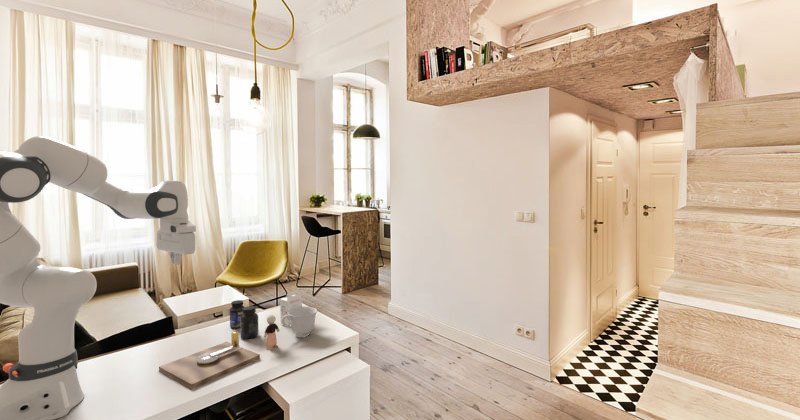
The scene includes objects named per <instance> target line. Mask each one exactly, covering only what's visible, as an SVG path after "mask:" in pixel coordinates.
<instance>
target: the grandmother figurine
mask: <svg viewBox="0 0 800 420" xmlns="http://www.w3.org/2000/svg"><path fill="white" fill-rule="evenodd" d="M266 322H267V324H268V325H267V326H266V328H265V331H264V335H263V338H264V339H266V342H265V343H266V344H265V345H266V351H267V350H268V351H269V350H270V351H271V350H274V349H275V348H278V345H277V344H278V342H277V341H278V340H277V334H276V332H278V333H279V332H280V329H279V326H278V324H276V323H275V322H276V316H275V315H274V314H270V315H267V316H266Z"/></svg>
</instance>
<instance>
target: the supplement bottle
mask: <svg viewBox="0 0 800 420" xmlns="http://www.w3.org/2000/svg"><path fill="white" fill-rule="evenodd" d="M256 308H257V307H256V306H253V305H250V306H248V305H247V306H244V308H243V315H241V317H240V328H239V329H240V331H239V333H240V334H239V335H240V336H239V337H240V339H241V340H244V341H250V340H253V339H256V338H258V337H259V315H258V313H257V311H256V310H257V309H256Z"/></svg>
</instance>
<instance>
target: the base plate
mask: <svg viewBox="0 0 800 420" xmlns="http://www.w3.org/2000/svg"><path fill="white" fill-rule="evenodd" d="M230 346H232V342H229V341H224V342H222V343H219V344H217V345H214V346H212V347H208V348H206V349H203V350H200V351H198V352H195V353H192V354H190V355H187V356H185V357H182V358H179V359H176V360H174V361H171V362H168V363H165V364H163V365H159V366H158V371H159V372H160V373H162V374H163V375H165V376H166V377H169V378H171V379H172V380H175V381H176V382H178V383H180V384H181V385H184V386H185V387H187V388H188V389H190V390H193V389H195V388H197V387H200V386H202V385H204V384H206V383H209V382H211V381H213V380H215V379H218V378H220V377H222V376H224V375H227V374H229V373H231V372H234V371H235V370H238V369H240V368H242V367H244V366H247V365H249V364H251V363H254V362H255V361H259V360H260V359H261V354H260V353H258V352H254V351H252V350H249V349H246V348H243V347H242V346H239V348H237V349H235V350H232V351H230V352H227V353H224V354H222V355H219V360H217V361H216V362H214V363H211V364H205V365H201V364H197V363H196V358H197V357H198V356H200V355H202V354H205V353H210V352H217V351H219V350H222V349H225V348H227V347H230Z"/></svg>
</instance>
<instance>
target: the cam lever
mask: <svg viewBox="0 0 800 420" xmlns="http://www.w3.org/2000/svg"><path fill="white" fill-rule="evenodd" d="M239 333H240V331H239V330H235V331H231V339H230V340H231V344H232V346H230V347H227V348H225V349H222V350H219V351H217V352H210V353H205V354H202V355H200V356H198V357H197V358H196V363H197V364H201V365H205V364H211V363H214V362H216V361H217V360H219V355H222V354H224V353H227V352H230V351H232V350H235V349H237V348H239V347H240V341H239V340H240V336H239V335H240V334H239Z"/></svg>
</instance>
